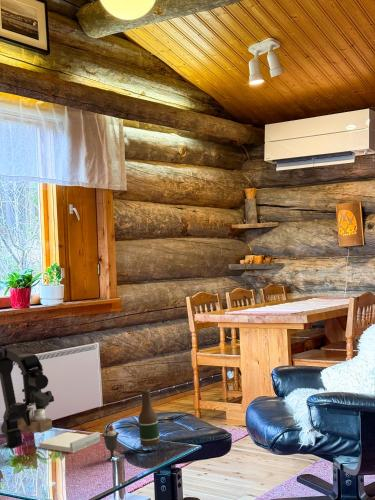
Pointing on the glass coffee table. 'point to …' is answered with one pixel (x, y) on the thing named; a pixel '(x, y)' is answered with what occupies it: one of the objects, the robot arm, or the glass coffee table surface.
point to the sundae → (110, 440)
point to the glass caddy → (36, 421)
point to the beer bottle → (148, 421)
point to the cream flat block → (70, 442)
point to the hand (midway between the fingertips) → (34, 423)
